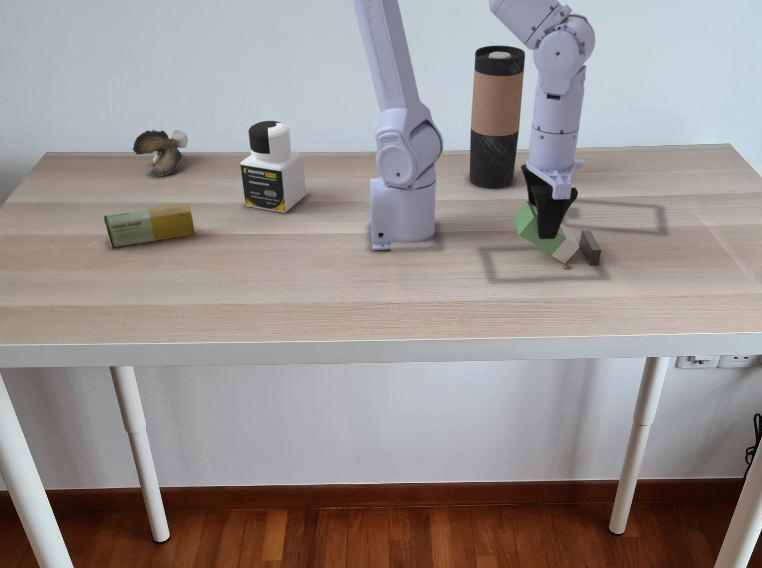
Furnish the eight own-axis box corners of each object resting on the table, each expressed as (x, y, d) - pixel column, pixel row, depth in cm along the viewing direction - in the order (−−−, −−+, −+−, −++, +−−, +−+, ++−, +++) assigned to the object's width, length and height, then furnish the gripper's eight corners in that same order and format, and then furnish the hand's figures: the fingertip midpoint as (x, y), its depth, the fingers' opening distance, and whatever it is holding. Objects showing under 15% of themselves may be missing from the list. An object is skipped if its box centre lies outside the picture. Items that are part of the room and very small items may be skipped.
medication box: (110, 249, 114) (104, 224, 111) (109, 239, 116) (102, 214, 113) (196, 235, 117) (191, 210, 114) (193, 225, 119) (188, 201, 116)
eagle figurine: (142, 149, 141) (123, 159, 133) (160, 114, 138) (141, 121, 130) (181, 174, 143) (164, 185, 135) (199, 140, 140) (183, 149, 132)
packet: (518, 235, 105) (534, 216, 103) (512, 218, 109) (526, 199, 107) (564, 264, 108) (580, 246, 106) (556, 246, 112) (571, 229, 110)
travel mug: (522, 177, 134) (534, 49, 121) (501, 193, 129) (512, 61, 116) (481, 167, 137) (489, 42, 125) (459, 182, 132) (465, 54, 120)
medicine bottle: (244, 206, 125) (234, 129, 118) (267, 189, 130) (259, 114, 123) (285, 214, 123) (277, 136, 115) (306, 196, 128) (300, 120, 121)
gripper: (603, 147, 93) (585, 253, 101) (573, 106, 104) (560, 204, 113) (542, 148, 93) (530, 254, 101) (520, 107, 104) (510, 205, 112)
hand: (542, 228), depth 107 cm, fingers closed on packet, 5 cm apart
